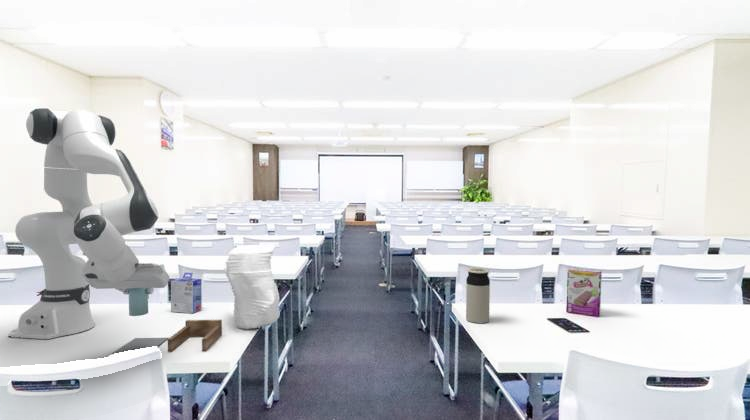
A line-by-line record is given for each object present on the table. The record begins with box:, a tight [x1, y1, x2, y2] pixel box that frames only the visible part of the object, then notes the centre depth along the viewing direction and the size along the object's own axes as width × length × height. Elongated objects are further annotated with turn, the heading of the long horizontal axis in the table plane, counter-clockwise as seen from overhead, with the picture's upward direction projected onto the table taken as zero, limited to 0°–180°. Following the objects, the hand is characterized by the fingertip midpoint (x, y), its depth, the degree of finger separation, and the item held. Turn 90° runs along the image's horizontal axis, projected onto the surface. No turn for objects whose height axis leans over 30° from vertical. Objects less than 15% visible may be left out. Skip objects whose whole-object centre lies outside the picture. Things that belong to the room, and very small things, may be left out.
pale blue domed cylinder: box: [128, 288, 150, 317], centre depth 118 cm, size 5×7×10 cm
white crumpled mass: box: [223, 243, 281, 330], centre depth 140 cm, size 21×27×26 cm
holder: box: [167, 319, 223, 353], centre depth 121 cm, size 11×13×5 cm
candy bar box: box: [565, 267, 603, 318], centre depth 151 cm, size 11×5×16 cm, turn 58°
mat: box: [110, 337, 169, 354], centre depth 117 cm, size 10×14×1 cm
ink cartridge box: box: [170, 271, 203, 314], centre depth 154 cm, size 10×6×14 cm, turn 78°
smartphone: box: [546, 317, 591, 334], centre depth 138 cm, size 8×1×15 cm
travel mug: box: [465, 267, 491, 324], centre depth 143 cm, size 8×8×18 cm
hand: (139, 292), depth 117 cm, fingers closed on pale blue domed cylinder, 5 cm apart
